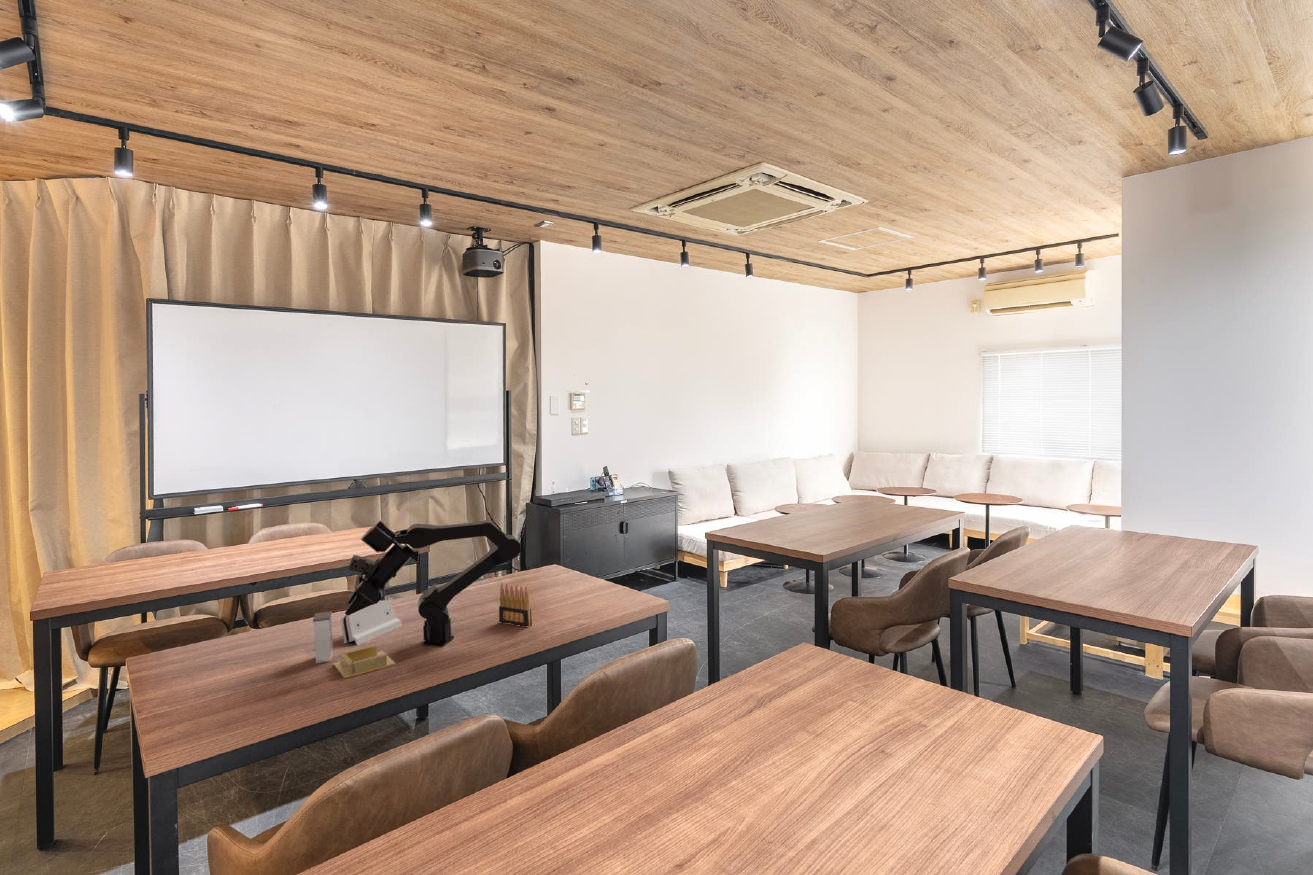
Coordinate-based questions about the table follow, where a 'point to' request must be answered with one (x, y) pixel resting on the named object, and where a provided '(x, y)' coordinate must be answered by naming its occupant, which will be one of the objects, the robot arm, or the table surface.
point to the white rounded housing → (369, 622)
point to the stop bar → (323, 637)
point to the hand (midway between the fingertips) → (347, 608)
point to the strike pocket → (362, 661)
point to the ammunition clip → (514, 606)
